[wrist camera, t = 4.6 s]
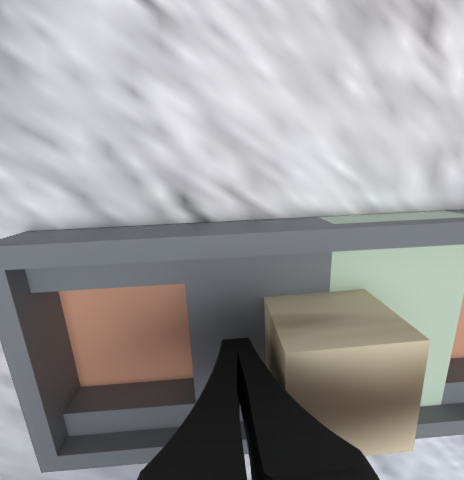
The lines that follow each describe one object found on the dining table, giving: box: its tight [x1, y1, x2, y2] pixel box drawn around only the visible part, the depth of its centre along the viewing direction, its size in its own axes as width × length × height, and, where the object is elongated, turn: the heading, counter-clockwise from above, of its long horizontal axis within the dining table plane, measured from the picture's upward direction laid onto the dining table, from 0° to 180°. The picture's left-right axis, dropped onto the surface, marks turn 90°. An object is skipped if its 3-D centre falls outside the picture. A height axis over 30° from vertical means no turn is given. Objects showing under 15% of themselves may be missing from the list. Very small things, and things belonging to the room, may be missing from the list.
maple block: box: [264, 289, 430, 456], centre depth 11 cm, size 5×5×4 cm
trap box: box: [0, 210, 464, 473], centre depth 14 cm, size 12×30×3 cm, turn 92°
